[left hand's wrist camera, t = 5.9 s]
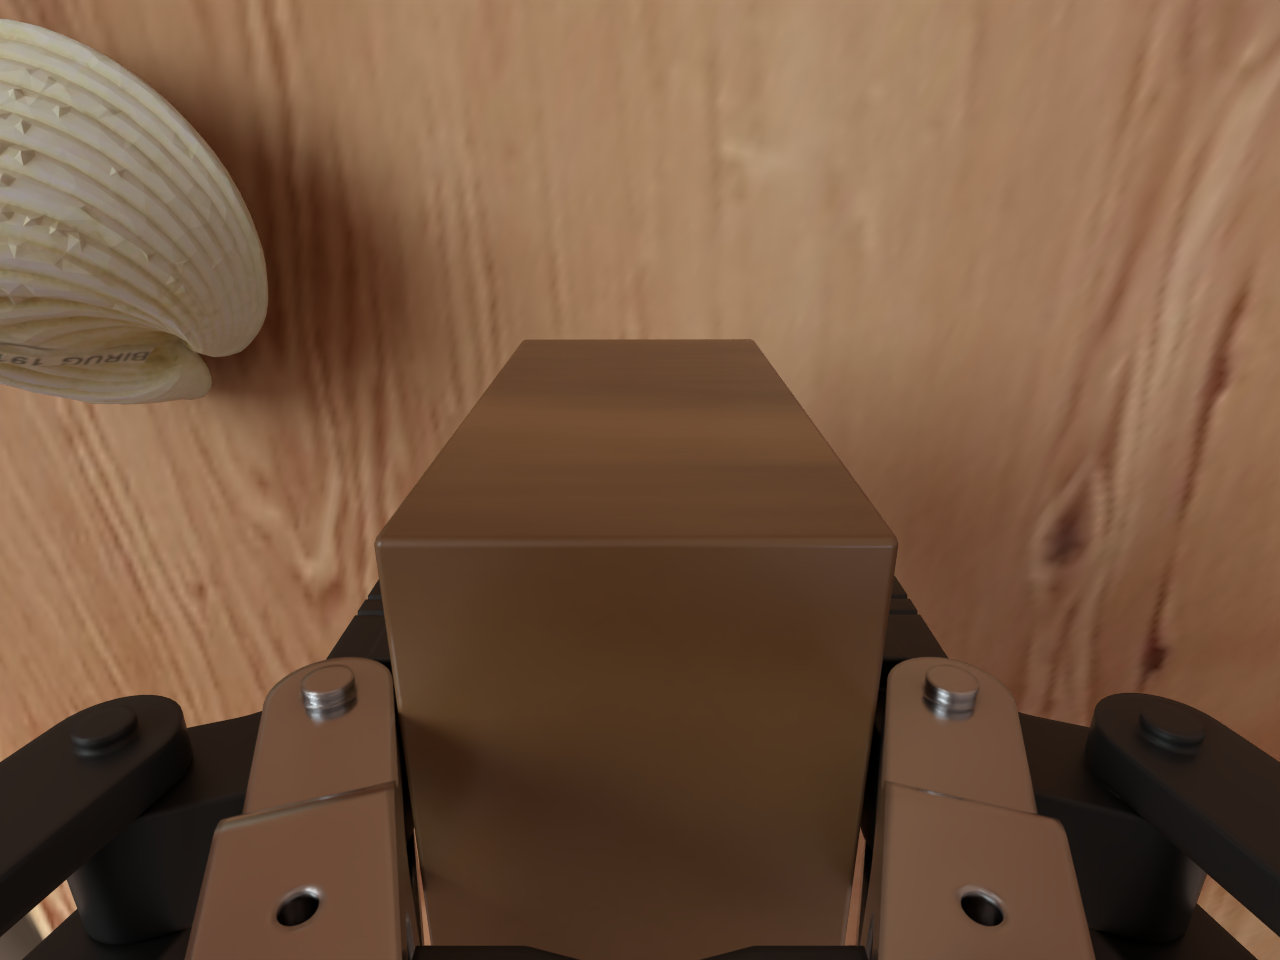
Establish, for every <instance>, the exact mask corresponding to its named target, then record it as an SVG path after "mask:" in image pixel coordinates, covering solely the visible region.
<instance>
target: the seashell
mask: <svg viewBox="0 0 1280 960" xmlns="http://www.w3.org/2000/svg"><path fill="white" fill-rule="evenodd" d="M267 307H268V281H267V271H266V262H265V258H264V253H263V248H262V245H261V242H260V240H259V237H258V234H257V231H256V228H255V226H254V223H253V220H252V217H251V215H250V213H249V211H248V208H247V206H246V204H245V202H244V200H243V198H242V196H241V194H240V192H239V190H238V188H237V187H236V185H235V183H234V181H233V180H232V178H231V176H230V174H229V173H228V171H227V170H226V168H225V167H224V165H223V164H222V163H221V161H220V160H219V158H218V157H217V155H216V154H215V153H214V151H213V150H212V149H211V148H210V146H209V145H208V144H207V143H206V141H205V140H204V139H203V138H202V137H201V136H200V135H199V133H198V132H197V131H196V130H195V129H194V128H193V127H192V125H191V124H190V123H189V122H188V121H187V120H186V119H185V118H184V117H183V116H182V115H181V114H180V113H179V112H178V111H177V110H176V109H175V108H174V107H173V106H172V105H171V104H170V103H169V102H168V101H167V100H166V99H165V98H164V97H162V96H161V95H160V94H159V93H158V92H157V91H155V90H154V89H153V88H152V87H151V86H149V85H148V84H147V83H146V82H144V81H143V80H142V79H141V78H140V77H138V76H137V75H135V74H134V73H132V72H130V71H129V70H127V69H126V68H125V67H123V66H122V65H120V64H119V63H117V62H116V61H114V60H113V59H111V58H109V57H107V56H106V55H104V54H102V53H100V52H98V51H96V50H94V49H92V48H90V47H89V46H86V45H84V44H82V43H80V42H78V41H76V40H74V39H71V38H69V37H67V36H64V35H62V34H60V33H57V32H54V31H51V30H49V29H46V28H43V27H40V26H37V25H32V24H27V23H23V22H19V21H15V20H11V19H0V384H4V385H8V386H12V387H16V388H19V389H23V390H27V391H31V392H34V393H39V394H45V395H51V396H57V397H63V398H68V399H74V400H79V401H83V402H88V403H92V404H146V403H159V402H166V401H173V400H180V399H189V400H192V399H196V398H200V397H204V396H205V395H206V394H207V393H208V392H209V390H210V389H211V385H212V377H211V374H210V372H209V369H208V366H207V364H206V363H205V362H204V360H203V359H202V358H201V357H200V355H199V354H198V353H200V354H203V355H207V356H211V357H222V356H229V355H232V354H235V353H238V352H241V351H242V350H243V349H245V348H246V347H247V346H248V345H249V344H250V343H251V342H252V341H253V339H254V338H255V337H256V335H257V334H258V332H259V331H260V329H261V327H262V326H263V323H264V320H265V318H266V314H267Z"/></svg>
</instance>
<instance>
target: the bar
mask: <svg viewBox="0 0 1280 960" xmlns="http://www.w3.org/2000/svg"><path fill="white" fill-rule="evenodd" d="M374 546H375V553H376V560H377V567H378V574H379V581H380V588H381V595H382V602H383V609H384V616H385V623H386V630H387V637H388V644H389V651H390V658H391V665H392V673H393V680H394V687H395V694H396V701H397V708H398V715H399V722H400V729H401V736H402V743H403V750H404V757H405V764H406V771H407V778H408V785H409V792H410V800H411V807H412V814H413V821H414V828H415V835H416V842H417V849H418V856H419V863H420V870H421V877H422V884H423V891H424V898H425V905H426V912H427V919H428V927H429V934H430V941H431V946H529V947H533V948H537V949H541V950H545V951H549V952H552V953H556V954H560V955H564V956H568V957H572V958H576V959H579V960H701V959H704V958H708V957H712V956H716V955H720V954H724V953H728V952H731V951H735V950H739V949H743V948H747V947H751V946H844V944H845V937H846V929H847V922H848V914H849V907H850V899H851V892H852V884H853V877H854V870H855V862H856V855H857V847H858V840H859V832H860V825H861V817H862V810H863V802H864V795H865V788H866V780H867V773H868V765H869V758H870V750H871V743H872V735H873V728H874V721H875V713H876V706H877V698H878V691H879V683H880V676H881V668H882V661H883V654H884V646H885V639H886V631H887V624H888V616H889V609H890V601H891V594H892V586H893V579H894V572H895V564H896V557H897V549H898V541H897V538H896V536H895V535H894V533H893V532H892V531H891V529H890V528H889V527H888V525H887V524H886V522H885V521H884V520H883V518H882V517H881V515H880V514H879V513H878V511H877V510H876V509H875V507H874V506H873V504H872V503H871V502H870V500H869V499H868V498H867V496H866V495H865V493H864V492H863V491H862V489H861V488H860V487H859V485H858V484H857V482H856V481H855V480H854V478H853V477H852V475H851V474H850V473H849V471H848V470H847V469H846V467H845V466H844V464H843V463H842V462H841V460H840V459H839V458H838V456H837V455H836V453H835V452H834V451H833V449H832V448H831V447H830V445H829V444H828V442H827V441H826V440H825V438H824V437H823V435H822V434H821V433H820V431H819V430H818V429H817V427H816V426H815V424H814V423H813V422H812V420H811V419H810V418H809V416H808V415H807V413H806V412H805V411H804V409H803V408H802V407H801V405H800V404H799V402H798V401H797V400H796V398H795V397H794V396H793V394H792V393H791V391H790V390H789V389H788V387H787V386H786V384H785V383H784V382H783V380H782V379H781V378H780V376H779V375H778V373H777V372H776V371H775V369H774V368H773V367H772V365H771V364H770V362H769V361H768V360H767V358H766V357H765V356H764V354H763V353H762V351H761V350H760V349H759V347H758V346H757V344H756V343H755V342H754V341H753V340H751V339H748V340H524V341H523V342H522V343H521V344H520V346H519V347H518V348H517V350H516V351H515V352H514V354H513V355H512V356H511V358H510V359H509V360H508V362H507V363H506V364H505V366H504V367H503V368H502V370H501V371H500V373H499V374H498V375H497V377H496V378H495V379H494V381H493V382H492V383H491V385H490V386H489V387H488V389H487V390H486V391H485V393H484V394H483V395H482V397H481V398H480V399H479V401H478V402H477V403H476V405H475V406H474V407H473V409H472V410H471V411H470V413H469V414H468V415H467V417H466V418H465V419H464V421H463V422H462V424H461V425H460V426H459V428H458V429H457V430H456V432H455V433H454V434H453V436H452V437H451V438H450V440H449V441H448V442H447V444H446V445H445V446H444V448H443V449H442V450H441V452H440V453H439V454H438V456H437V457H436V458H435V460H434V461H433V462H432V464H431V465H430V466H429V468H428V469H427V471H426V472H425V473H424V475H423V476H422V477H421V479H420V480H419V481H418V483H417V484H416V485H415V487H414V488H413V489H412V491H411V492H410V493H409V495H408V496H407V497H406V499H405V500H404V501H403V503H402V504H401V505H400V507H399V508H398V509H397V511H396V512H395V513H394V515H393V516H392V518H391V519H390V520H389V522H388V523H387V524H386V526H385V527H384V528H383V530H382V531H381V532H380V534H379V535H378V536H377V538H376V541H375V544H374Z"/></svg>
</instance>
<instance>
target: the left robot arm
mask: <svg viewBox="0 0 1280 960" xmlns="http://www.w3.org/2000/svg"><path fill="white" fill-rule="evenodd" d="M860 827H861V830H862V833H863V836H864V838H865V843H864V850H863V857H862V870H861V883H860V896H859V909H858V922H857V934H856V946H751V947H747V948H743V949H739V950H735V951H731V952H728V953H724V954H720V955H716V956H712V957H708V958H704V959H701V960H1258V959H1256V958H1255V957H1254V956H1253V955H1252V954H1251V953H1250V952H1249V951H1248V950H1247V949H1246V948H1245V947H1243V946H1242V945H1241V944H1240V943H1239V942H1238V941H1237V940H1236V939H1235V938H1234V937H1233V936H1232V935H1230V934H1229V933H1228V932H1227V931H1226V930H1225V929H1224V928H1223V927H1222V926H1221V925H1220V924H1219V923H1217V922H1216V921H1215V920H1214V919H1213V918H1212V917H1211V916H1210V915H1209V914H1208V913H1207V912H1206V911H1204V910H1203V909H1202V908H1201V907H1200V906H1199V905H1198V904H1197V900H1198V898H1199V895H1200V892H1201V889H1202V887H1203V884H1204V881H1205V878H1206V875H1207V874H1208V875H1209V876H1210V877H1211V878H1213V879H1214V880H1215V881H1216V882H1217V883H1218V884H1219V885H1221V886H1222V887H1223V888H1224V889H1225V890H1226V891H1228V892H1229V893H1230V894H1231V895H1232V896H1233V897H1234V898H1236V899H1237V900H1238V901H1239V902H1240V903H1241V904H1242V905H1244V906H1245V907H1246V908H1247V909H1248V910H1249V911H1250V912H1252V913H1253V914H1254V915H1255V916H1256V917H1257V918H1258V919H1260V920H1261V921H1262V922H1263V923H1264V924H1265V925H1266V926H1268V927H1269V928H1270V929H1271V930H1272V931H1273V932H1274V933H1276V934H1277V935H1278V936H1279V937H1280V762H1279V761H1277V760H1276V759H1274V758H1273V757H1271V756H1270V755H1268V754H1267V753H1265V752H1264V751H1262V750H1261V749H1259V748H1258V747H1256V746H1255V745H1253V744H1252V743H1250V742H1249V741H1247V740H1246V739H1244V738H1243V737H1241V736H1240V735H1238V734H1237V733H1235V732H1234V731H1232V730H1231V729H1229V728H1228V727H1226V726H1225V725H1223V724H1222V723H1220V722H1219V721H1217V720H1215V719H1214V718H1212V717H1211V716H1209V715H1207V714H1205V713H1203V712H1201V711H1199V710H1197V709H1195V708H1193V707H1190V706H1188V705H1185V704H1183V703H1180V702H1177V701H1174V700H1171V699H1167V698H1163V697H1159V696H1154V695H1149V694H1140V693H1121V694H1114V695H1111V696H1107V697H1106V698H1104V699H1102V700H1101V701H1100V702H1099V703H1098V704H1097V706H1096V708H1095V711H1094V714H1093V718H1092V722H1091V726H1090V728H1089V727H1084V726H1079V725H1075V724H1070V723H1065V722H1060V721H1055V720H1050V719H1045V718H1040V717H1035V716H1031V715H1027V714H1023V713H1020V712H1018V710H1017V705H1016V702H1015V699H1014V697H1013V695H1012V693H1011V692H1010V690H1009V689H1008V688H1007V687H1006V686H1005V685H1004V684H1003V683H1002V682H1001V681H999V680H998V679H997V678H995V677H994V676H992V675H991V674H989V673H988V672H986V671H984V670H982V669H980V668H977V667H975V666H973V665H970V664H967V663H964V662H961V661H957V660H952V659H948V657H947V656H946V654H945V653H944V651H943V649H942V648H941V646H940V645H939V643H938V642H937V640H936V639H935V637H934V636H933V634H932V633H931V631H930V629H929V628H928V626H927V625H926V623H925V622H924V620H923V619H922V617H921V616H920V615H918V614H917V609H916V608H915V606H914V605H913V603H912V602H911V600H910V599H907V594H906V592H905V591H904V589H903V588H902V586H901V585H900V583H899V582H898V580H897V579H896V577H895V576H894V579H893V586H892V594H891V601H890V609H889V616H888V624H887V631H886V639H885V646H884V654H883V661H882V668H881V676H880V683H879V691H878V698H877V706H876V713H875V721H874V728H873V735H872V743H871V750H870V758H869V765H868V773H867V780H866V788H865V795H864V802H863V810H862V817H861V825H860ZM66 879H67V882H68V884H69V887H70V890H71V893H72V895H73V898H74V901H75V903H76V906H77V910H76V911H74V912H73V913H72V914H71V915H70V916H69V917H68V918H67V919H66V920H65V921H64V922H63V923H61V924H60V925H59V926H58V927H57V928H56V929H55V930H54V931H53V932H52V933H51V934H49V935H48V936H47V937H46V938H45V939H44V940H43V941H42V942H41V943H40V944H39V945H38V946H36V947H35V948H34V949H33V950H32V951H31V952H30V953H29V954H28V955H27V956H26V957H25V958H23V959H22V960H579V959H576V958H572V957H568V956H564V955H560V954H556V953H552V952H549V951H545V950H541V949H537V948H533V947H529V946H424V935H423V922H422V909H421V896H420V883H419V870H418V857H417V850H416V843H415V836H414V821H413V814H412V807H411V800H410V792H409V785H408V778H407V771H406V764H405V757H404V750H403V743H402V736H401V729H400V722H399V715H398V708H397V701H396V694H395V687H394V680H393V673H392V665H391V658H390V651H389V644H388V637H387V630H386V623H385V616H384V609H383V602H382V595H381V588H380V581H379V580H378V582H377V583H376V585H375V586H374V588H373V589H372V591H371V592H370V594H369V595H368V600H365V601H364V603H363V604H362V606H361V607H360V609H359V610H358V615H355V616H354V618H353V620H352V621H351V623H350V624H349V626H348V627H347V629H346V630H345V632H344V633H343V635H342V636H341V638H340V639H339V641H338V642H337V644H336V645H335V647H334V648H333V650H332V651H331V653H330V654H329V656H328V657H327V659H326V660H323V661H319V662H316V663H313V664H310V665H307V666H305V667H303V668H300V669H298V670H296V671H294V672H292V673H291V674H289V675H288V676H286V677H285V678H283V679H282V680H281V681H279V682H278V683H277V684H276V685H275V686H274V687H273V688H272V689H271V690H270V692H269V693H268V695H267V697H266V699H265V702H264V705H263V710H262V711H261V712H257V713H254V714H251V715H247V716H243V717H239V718H235V719H230V720H225V721H220V722H215V723H210V724H205V725H200V726H195V727H190V728H187V727H186V723H185V720H184V716H183V712H182V710H181V707H180V706H179V705H178V704H177V703H176V702H175V701H173V700H171V699H170V698H166V697H163V696H156V695H137V696H128V697H123V698H118V699H114V700H110V701H106V702H103V703H100V704H97V705H94V706H92V707H89V708H87V709H85V710H82V711H80V712H78V713H76V714H74V715H72V716H70V717H68V718H66V719H65V720H63V721H62V722H60V723H58V724H57V725H55V726H54V727H52V728H51V729H49V730H48V731H46V732H45V733H43V734H42V735H40V736H39V737H37V738H36V739H34V740H33V741H31V742H30V743H28V744H27V745H25V746H24V747H22V748H21V749H19V750H18V751H16V752H15V753H13V754H12V755H10V756H9V757H7V758H6V759H4V760H3V761H1V762H0V937H1V936H2V935H3V934H4V933H5V932H7V931H8V930H9V929H10V928H11V927H12V926H14V925H15V924H16V923H17V922H18V921H19V920H20V919H22V918H23V917H24V916H25V915H26V914H27V913H28V912H30V911H31V910H32V909H33V908H34V907H35V906H36V905H38V904H39V903H40V902H41V901H42V900H43V899H44V898H46V897H47V896H48V895H49V894H50V893H51V892H52V891H54V890H55V889H56V888H57V887H58V886H59V885H60V884H62V883H63V882H64V881H65V880H66Z"/></svg>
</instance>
